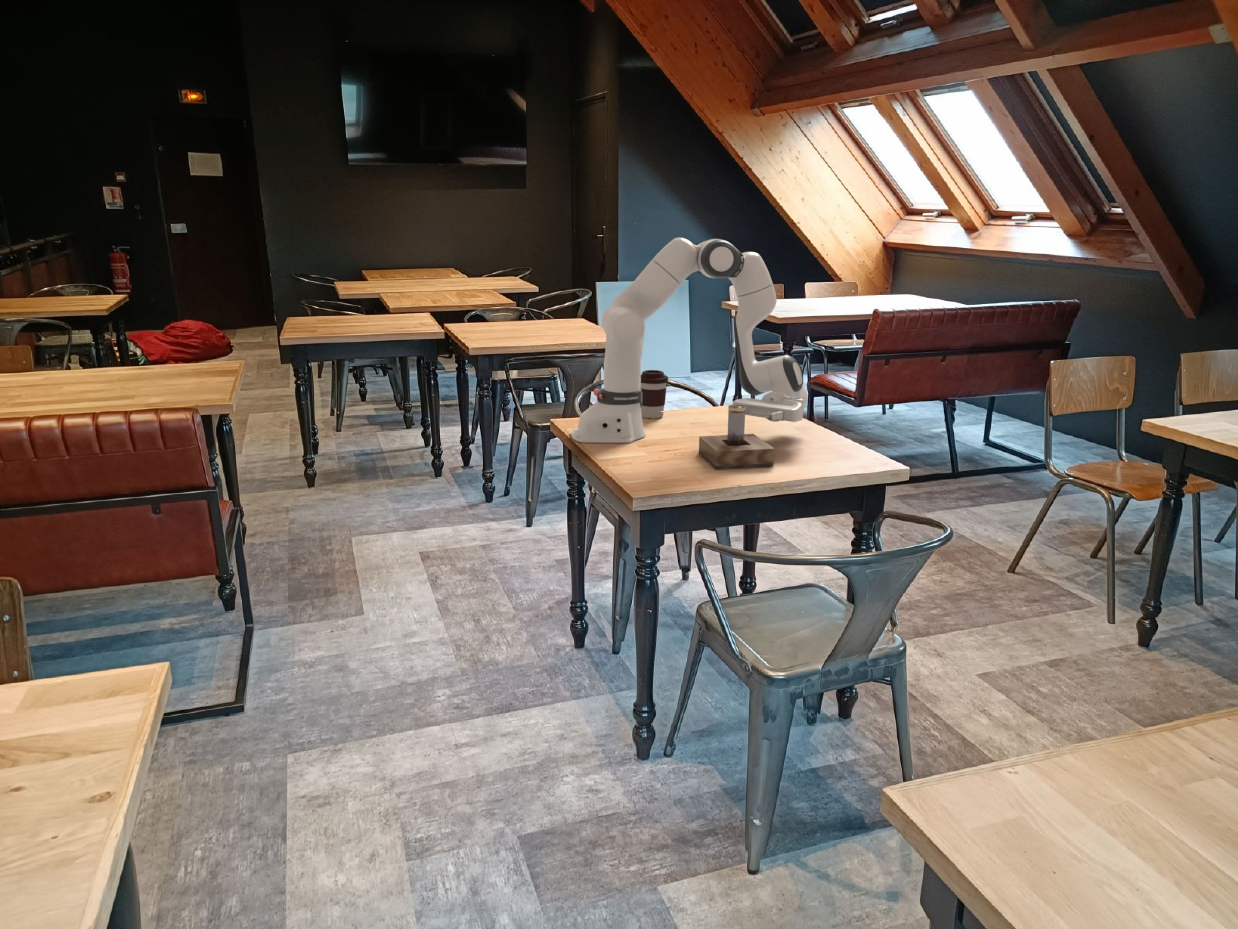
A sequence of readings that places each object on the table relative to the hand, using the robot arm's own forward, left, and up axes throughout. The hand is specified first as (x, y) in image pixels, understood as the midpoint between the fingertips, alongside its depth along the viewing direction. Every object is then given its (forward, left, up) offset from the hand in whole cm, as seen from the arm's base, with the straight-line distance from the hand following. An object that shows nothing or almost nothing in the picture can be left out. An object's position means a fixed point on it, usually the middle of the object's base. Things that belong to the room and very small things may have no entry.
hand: (755, 414), depth 250 cm
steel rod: (-8, -8, -9) cm, 15 cm away
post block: (-8, -8, -11) cm, 15 cm away
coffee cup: (-18, +46, -11) cm, 51 cm away
